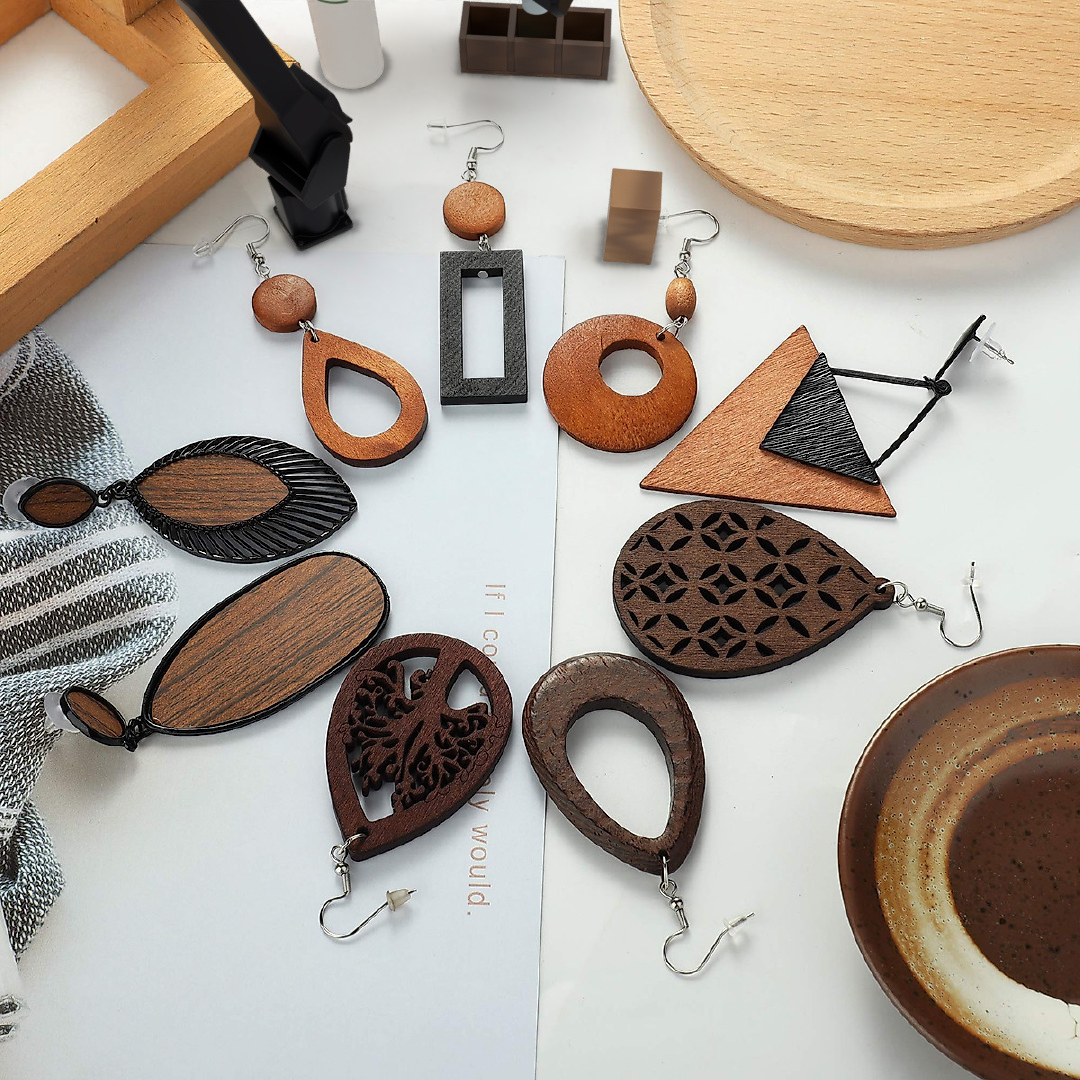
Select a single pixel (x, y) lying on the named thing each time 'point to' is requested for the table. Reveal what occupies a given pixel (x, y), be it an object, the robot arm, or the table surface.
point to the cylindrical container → (347, 41)
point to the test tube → (532, 7)
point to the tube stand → (632, 215)
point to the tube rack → (534, 41)
